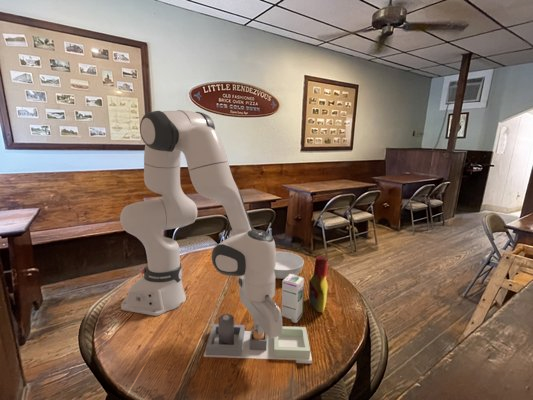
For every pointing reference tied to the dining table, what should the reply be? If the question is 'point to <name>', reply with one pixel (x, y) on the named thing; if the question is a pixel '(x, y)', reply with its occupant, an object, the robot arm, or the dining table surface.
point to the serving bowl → (287, 264)
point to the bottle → (318, 284)
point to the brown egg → (257, 335)
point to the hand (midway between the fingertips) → (258, 331)
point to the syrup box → (292, 297)
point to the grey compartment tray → (262, 345)
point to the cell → (226, 329)
